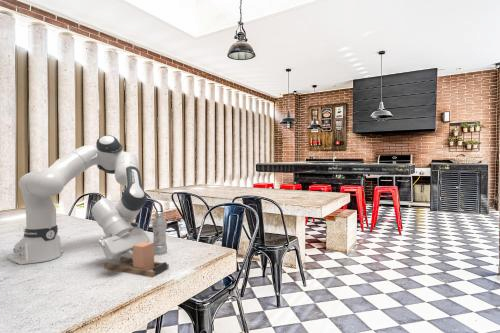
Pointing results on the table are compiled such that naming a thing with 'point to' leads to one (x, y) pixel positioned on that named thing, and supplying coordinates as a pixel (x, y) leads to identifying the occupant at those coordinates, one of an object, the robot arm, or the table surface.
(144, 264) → the block
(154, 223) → the plastic bottle
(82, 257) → the table surface
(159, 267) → the chute
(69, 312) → the table surface
